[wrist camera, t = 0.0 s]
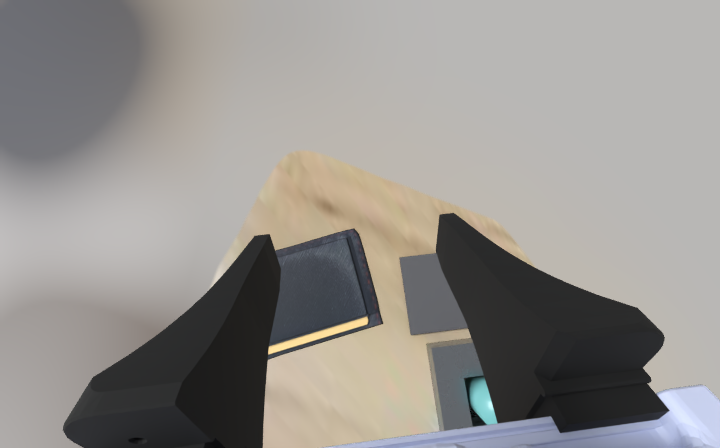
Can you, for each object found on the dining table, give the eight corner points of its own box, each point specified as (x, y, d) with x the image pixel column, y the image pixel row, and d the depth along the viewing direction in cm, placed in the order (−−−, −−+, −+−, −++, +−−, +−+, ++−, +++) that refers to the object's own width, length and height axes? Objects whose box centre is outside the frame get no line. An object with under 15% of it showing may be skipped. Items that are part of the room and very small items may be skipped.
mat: (486, 324, 43) (487, 325, 43) (410, 334, 43) (411, 335, 42) (471, 249, 45) (472, 249, 45) (399, 257, 45) (399, 257, 45)
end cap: (502, 409, 41) (531, 433, 34) (466, 413, 41) (488, 439, 34) (494, 369, 42) (521, 385, 35) (459, 374, 42) (479, 391, 35)
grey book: (358, 225, 45) (385, 329, 42) (358, 228, 47) (384, 327, 44) (225, 259, 44) (243, 368, 41) (230, 260, 45) (248, 364, 42)
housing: (539, 442, 40) (554, 454, 37) (443, 455, 39) (450, 469, 37) (515, 332, 43) (527, 335, 40) (426, 343, 42) (431, 348, 39)
